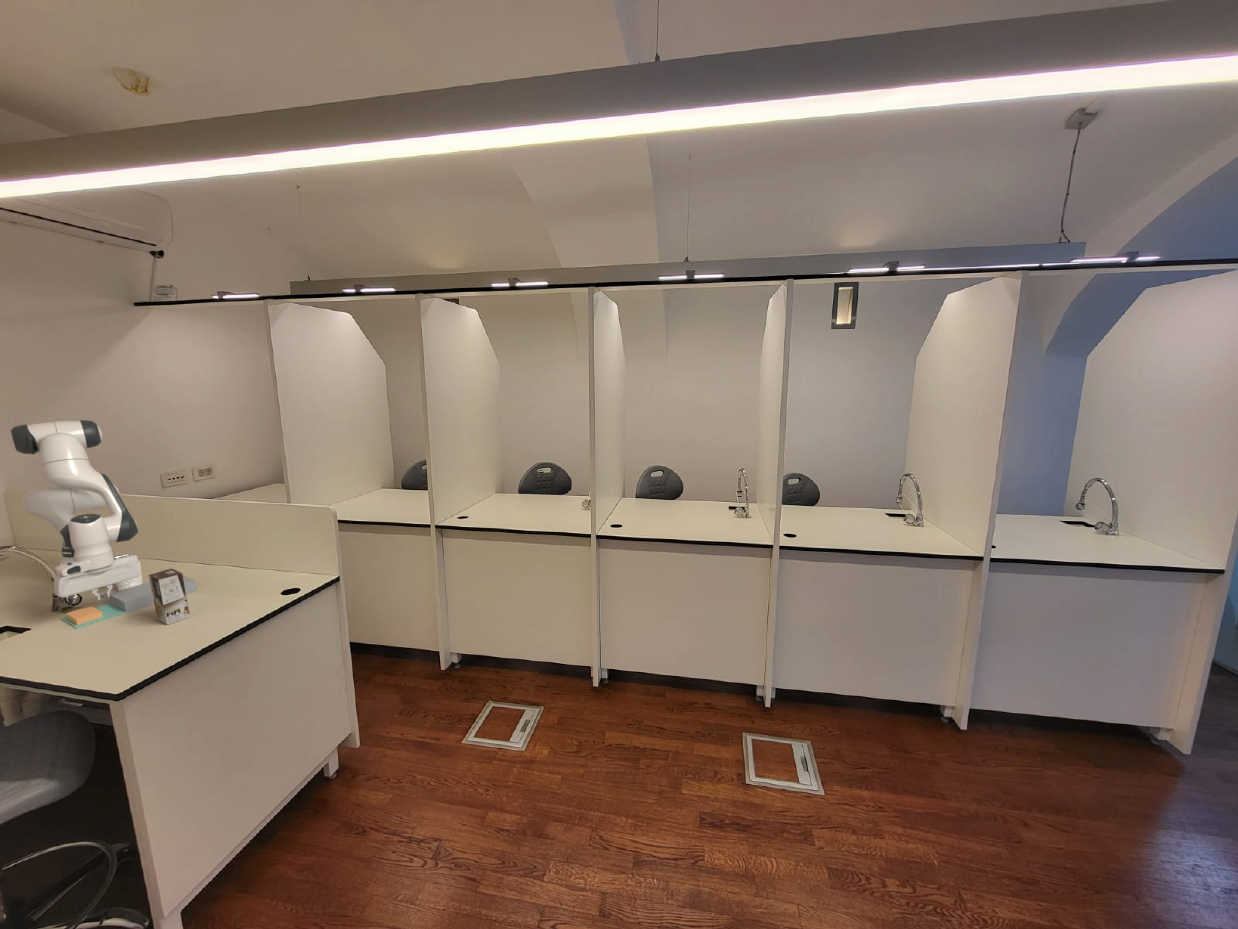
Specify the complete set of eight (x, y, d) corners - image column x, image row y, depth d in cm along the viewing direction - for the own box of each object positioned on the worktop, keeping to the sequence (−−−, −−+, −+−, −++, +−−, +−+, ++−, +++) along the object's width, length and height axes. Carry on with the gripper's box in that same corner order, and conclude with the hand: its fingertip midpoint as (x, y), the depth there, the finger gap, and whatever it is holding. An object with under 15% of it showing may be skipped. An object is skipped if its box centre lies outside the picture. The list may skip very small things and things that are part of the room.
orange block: (91, 605, 166) (92, 611, 166) (66, 613, 160) (67, 618, 161) (101, 611, 162) (102, 616, 162) (76, 619, 156) (77, 625, 157)
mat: (61, 619, 161) (61, 618, 161) (110, 604, 172) (110, 603, 172) (76, 628, 155) (76, 627, 155) (126, 612, 165) (126, 611, 165)
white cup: (114, 594, 179) (109, 569, 178) (118, 587, 185) (112, 563, 184) (143, 588, 184) (138, 564, 182) (146, 582, 190) (141, 558, 188)
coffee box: (191, 617, 162) (183, 573, 159) (166, 625, 157) (157, 580, 154) (180, 610, 167) (172, 567, 164) (156, 618, 161) (147, 574, 159)
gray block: (110, 604, 172) (108, 593, 171) (180, 583, 189) (178, 573, 189) (126, 612, 165) (124, 602, 165) (196, 590, 183) (195, 580, 182)
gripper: (132, 549, 173) (139, 585, 176) (47, 570, 155) (57, 608, 158) (139, 552, 170) (146, 588, 173) (54, 573, 152) (63, 613, 155)
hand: (103, 598), depth 165 cm, fingers closed
